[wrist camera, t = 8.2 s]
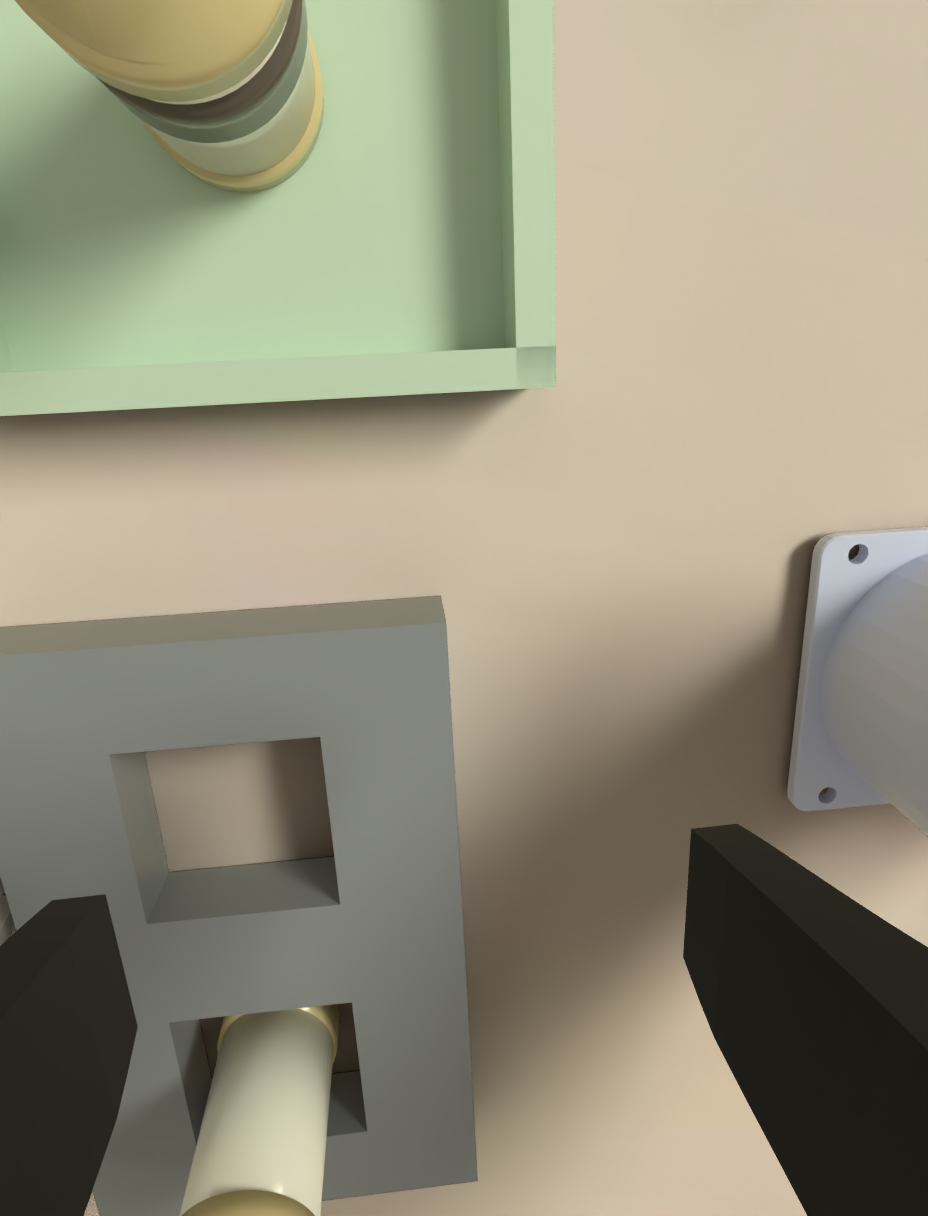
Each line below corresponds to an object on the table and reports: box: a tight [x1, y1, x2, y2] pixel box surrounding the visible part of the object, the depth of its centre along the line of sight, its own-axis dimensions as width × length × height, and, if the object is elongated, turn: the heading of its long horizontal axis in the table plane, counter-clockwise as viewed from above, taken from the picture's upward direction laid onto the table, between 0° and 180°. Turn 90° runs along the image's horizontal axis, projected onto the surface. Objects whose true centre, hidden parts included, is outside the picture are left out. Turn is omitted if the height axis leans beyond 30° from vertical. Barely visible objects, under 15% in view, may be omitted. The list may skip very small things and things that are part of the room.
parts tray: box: [0, 0, 556, 416], centre depth 14 cm, size 12×12×2 cm
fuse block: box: [0, 596, 478, 1216], centre depth 21 cm, size 11×18×2 cm, turn 3°
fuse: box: [180, 1004, 339, 1216], centre depth 20 cm, size 3×3×7 cm
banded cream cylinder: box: [15, 0, 324, 192], centre depth 11 cm, size 3×3×7 cm
